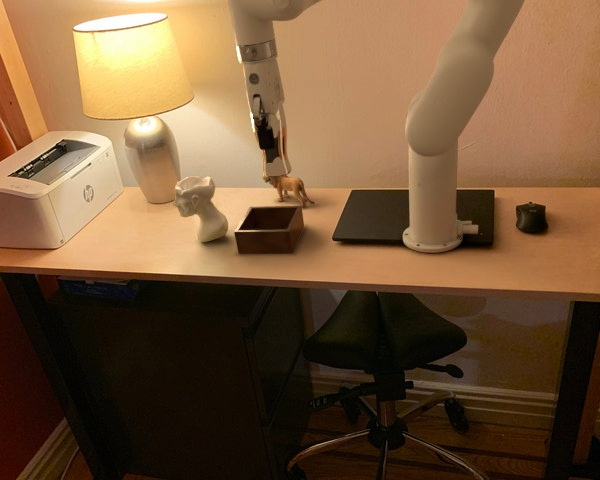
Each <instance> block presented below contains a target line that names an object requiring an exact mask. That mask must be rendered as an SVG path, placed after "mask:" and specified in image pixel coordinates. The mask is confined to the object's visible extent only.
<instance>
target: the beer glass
mask: <svg viewBox="0 0 600 480" xmlns="http://www.w3.org/2000/svg"><path fill="white" fill-rule="evenodd" d="M277 104H278V111H277V112H276V113H275V114H274V115H271V113H270V124H271V128H273V134H274V140H275V146H276V147H275V148H274V149H265V150H261V149H260V147H259V141H258V136H257V131H256V125H255V123H254V120H253V118H252V114H251V113H250V119H251V125H252V130H253V135H254V137H255V140H256V143H257V145H258V148H259V151H260V154H261V158H262V164H263V165H262V169H263V170H262V173H263V176H266V177H269V178H276V177H282V176H285V175H287V176H288V175H289V174H290V173H291V172H292V170H293V168H292V165H291V162H290V160H289V156H288V123H287V117H286V112H285V107H284V103H282V98H281V99H280V101H278V102H277ZM261 113H267V112H266V110H265V109H261ZM262 119H264V120H265V122H266V117H262Z"/></svg>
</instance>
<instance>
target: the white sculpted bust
mask: <svg viewBox="0 0 600 480" xmlns="http://www.w3.org/2000/svg"><path fill="white" fill-rule="evenodd" d="M215 192H216V184H215V182H214V179H212V178H211V177H210V176H206V177H204V178H203V177H201V176H194V175H191V176H186V177H185V178H184V179H182V180H180V181H177V183H176V184H175V187H174V189H173V193H174V196H175V197H174V202H173V204H172V205H173V207H176V208H177V210H178V212H179V215H180V217H181V218H190V217H193V216H195V215H197V216H198V218H199V223H198V227H197V233H196V234H197V239H198V240H199V242H201V243H207V242H211V241H213V240H217V239H220V238H222V237H224V236H226V234H227V233H228V230H229V220H228V218H227V216H226V215H225V214H224V213H223V212H222V211H220V210H219V209H218V207H217V206H216V205H215V204H214V201H212V199H213V198H214V195H215Z"/></svg>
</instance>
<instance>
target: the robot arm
mask: <svg viewBox="0 0 600 480" xmlns="http://www.w3.org/2000/svg"><path fill="white" fill-rule="evenodd" d="M321 1H322V0H227V5H228V10H229V16H230V20H231V25H232V32H233V36H234V42H235V47H236V53H237V58H238V62H239V64H241V65H242V66H243V67H242V68H243V74H244V75H243V76H244V84H245V90H246V91H245V92H246V99H247V102H248V107H249V113H250V115H251V114H252V118H253V120H254V123H255V125H256V131H257V136H258V141H259V145H258V148H259V147H260V148H259V150H260V149H261V150H265V149H274V148H275V147H276V146H275V140H274V134H273V128H271V124H270V113H271V115H274V114H275V113H276V112H277V111H278V104H277V102H278V101H280V99H281V98H282V103H283V104H284V103H285V92H284V87H283V83H282V78H281V73H280V67H279V64H278V60H277V58H278V57H279V55H278V49H277V48H278V47H277V41H276V36H275V29H274V23H273V22H288V21H293V20H295V19H296V18H298V17H300V16H301V15H302V14H303V13H304V12H305V11H306V10H308V9H309V8H310V7H313V6H314V5H316V4H318V3H320V2H321ZM524 3H525V0H468V1H467V4H466V5H465V8H464V10H463V12H462V13H461V16H460V17H459V19H458V20H457V22H456V24H455V27H454V28H453V30H452V32H451V34H450V35H449V37H448V38H447V39H446V41H445V43H444V44H443V45H442V48H441V49H440V51H439V53H438V56H437V59H436V66H435V68H434V70H433V72H432V74H431V76H430V78H429V79H428V82H427V84H426V85H425V87H424V88H423V89H421V90H420V91H418V92H417V93H416V94H415V95H413V97H412V99H411V100H410V102H409V105H408V108H407V113H406V116H405V117H406V120H405V124H404V137H405V140H406V143H407V145H408V202H409V203H408V204H409V205H408V206H409V207H408V209H409V211H408V212H409V226H408V227H407V228H405V230H404V231H403V233H402V243H403V244H404V245H405V246H406V247H407V248H409V249H411V250H413V251H416V252H420V253H426V254H435V253H436V254H437V253H444V252H447V251H450V250H453V249H455V248H457V247H458V246H460V244H461V243H462V242H463V239H464V235H478V234H479V224H473V221H472V220H461V219H458V213H457V192H458V191H457V188H458V186H457V185H458V180H457V179H458V163H459V161H458V156H459V138H460V136H461V135H462V133H463V132H464V130H465V129H466V127H467V126H468V124H469V123H470V121H471V120H472V117H473V116H474V114H475V112H476V111H477V109H478V107H479V106H480V104H481V103H482V101H483V100H484V98H485V96H486V94H487V93H488V90H489V88H490V86H491V84H492V81H493V78H494V74H495V63H494V59H495V57H496V55H497V53H498V51H499V50H500V48H501V46H502V44H503V42H504V41H505V39H506V37H507V35H508V33H509V31H510V30H511V28H512V26H513V24H515V21H516V19H517V17H518V16H519V13H520V11H521V10H522V7H523V5H524ZM261 109H265V110H266V112H267V113H261ZM262 117H266V122H265V120H264V119H262ZM461 238H462V239H461ZM460 239H461V240H460Z"/></svg>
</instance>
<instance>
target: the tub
mask: <svg viewBox="0 0 600 480" xmlns="http://www.w3.org/2000/svg"><path fill="white" fill-rule="evenodd" d="M304 229H305V223H304V214H303V208H302V206H300V205H273V206H270V205H269V206H267V205H265V206H249V208H247V210H246V212H245V213H244V215H243V217H242V219H241V220H240V221H239V223H238V224H237V227H236V228H235V229H234V231H233V234H234V239H235V244H236V249H237V252H238V254H240V255H241V254H243V255H246V254H247V255H248V254H249V255H251V254H252V255H253V254H257V255H258V254H261V255H263V254H264V255H265V254H266V255H269V254H271V255H273V254H274V255H278V254H282V255H284V254H285V255H287V254H288V255H289V254H290V255H291V254H293V253H294V251H295V249H296V248H297V245H298V242H299V240H300V238H301V236H302V233H303V231H304Z"/></svg>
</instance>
